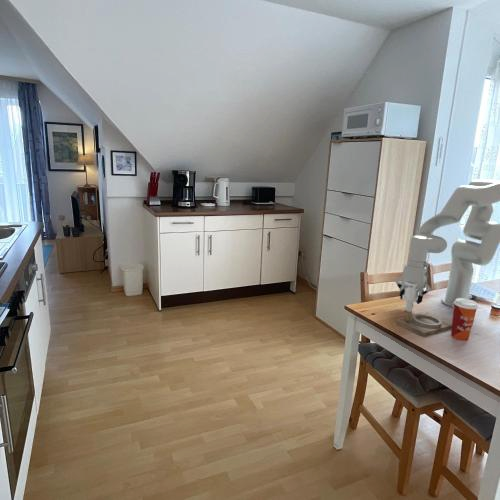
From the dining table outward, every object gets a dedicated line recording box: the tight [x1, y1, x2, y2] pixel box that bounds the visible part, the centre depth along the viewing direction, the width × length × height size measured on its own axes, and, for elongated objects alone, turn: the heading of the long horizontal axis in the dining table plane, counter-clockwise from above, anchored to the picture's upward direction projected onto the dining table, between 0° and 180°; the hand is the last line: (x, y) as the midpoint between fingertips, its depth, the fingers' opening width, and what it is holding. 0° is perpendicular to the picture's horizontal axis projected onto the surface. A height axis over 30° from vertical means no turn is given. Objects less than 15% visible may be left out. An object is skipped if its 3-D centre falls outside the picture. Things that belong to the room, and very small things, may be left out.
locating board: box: [396, 311, 452, 337], centre depth 151 cm, size 20×13×6 cm, turn 118°
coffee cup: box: [450, 298, 479, 342], centre depth 141 cm, size 8×8×15 cm
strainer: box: [402, 282, 419, 313], centre depth 165 cm, size 7×7×15 cm
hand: (410, 300), depth 166 cm, fingers closed on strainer, 6 cm apart
